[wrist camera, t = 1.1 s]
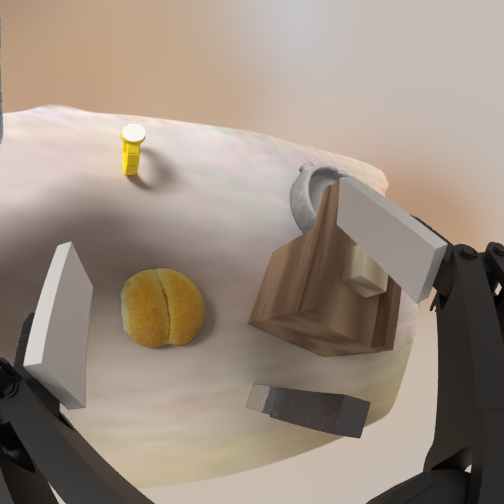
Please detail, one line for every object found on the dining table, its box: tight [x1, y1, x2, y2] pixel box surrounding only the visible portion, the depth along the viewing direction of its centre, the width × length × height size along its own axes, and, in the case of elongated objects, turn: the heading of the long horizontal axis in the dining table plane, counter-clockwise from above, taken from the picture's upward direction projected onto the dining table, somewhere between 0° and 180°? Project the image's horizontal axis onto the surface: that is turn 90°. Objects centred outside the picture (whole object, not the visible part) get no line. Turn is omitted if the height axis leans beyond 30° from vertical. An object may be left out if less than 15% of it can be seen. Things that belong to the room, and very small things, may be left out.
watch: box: [121, 124, 146, 175], centre depth 31 cm, size 6×3×6 cm, turn 16°
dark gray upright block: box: [246, 384, 370, 438], centre depth 27 cm, size 6×3×14 cm, turn 69°
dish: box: [290, 162, 350, 233], centre depth 44 cm, size 14×14×5 cm
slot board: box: [248, 179, 401, 357], centre depth 35 cm, size 12×16×12 cm
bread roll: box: [120, 268, 205, 348], centre depth 29 cm, size 8×9×4 cm
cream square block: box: [340, 245, 388, 298], centre depth 30 cm, size 4×4×3 cm
